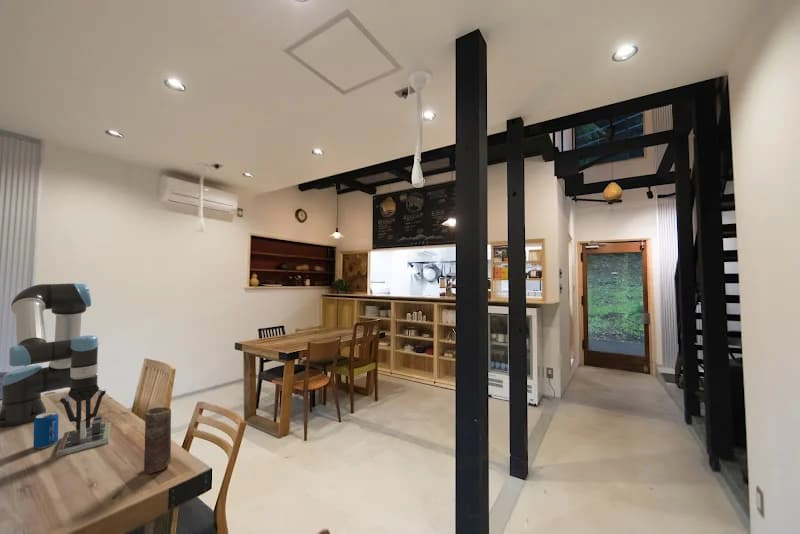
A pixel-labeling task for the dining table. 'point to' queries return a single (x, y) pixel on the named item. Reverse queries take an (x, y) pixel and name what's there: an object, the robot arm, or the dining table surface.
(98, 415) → the breaker
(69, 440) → the panel
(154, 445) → the candle
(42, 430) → the beverage can
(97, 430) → the block
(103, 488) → the dining table surface
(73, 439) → the breaker
